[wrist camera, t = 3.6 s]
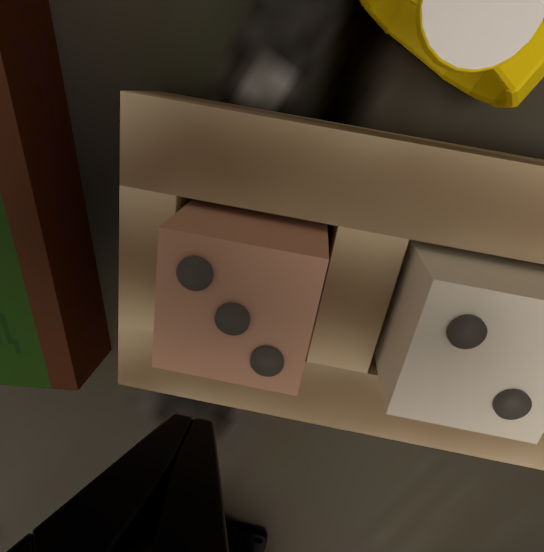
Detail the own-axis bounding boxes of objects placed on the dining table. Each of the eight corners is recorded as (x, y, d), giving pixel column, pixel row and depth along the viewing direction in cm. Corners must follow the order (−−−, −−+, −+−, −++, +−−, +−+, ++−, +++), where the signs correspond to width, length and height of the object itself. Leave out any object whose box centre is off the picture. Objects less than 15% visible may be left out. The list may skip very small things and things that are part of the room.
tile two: (496, 378, 17) (538, 447, 14) (373, 354, 17) (386, 417, 14) (549, 265, 15) (615, 315, 12) (409, 239, 15) (434, 281, 12)
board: (663, 442, 20) (727, 507, 17) (148, 340, 21) (117, 383, 18) (834, 211, 15) (967, 242, 12) (159, 91, 16) (120, 90, 13)
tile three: (301, 339, 17) (296, 399, 14) (182, 316, 17) (149, 369, 14) (327, 224, 15) (329, 261, 12) (192, 199, 15) (156, 229, 12)
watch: (338, 24, 15) (332, -26, 10) (389, -55, 14) (417, -163, 9) (466, 126, 16) (530, 133, 10) (526, 57, 14) (634, 23, 9)
